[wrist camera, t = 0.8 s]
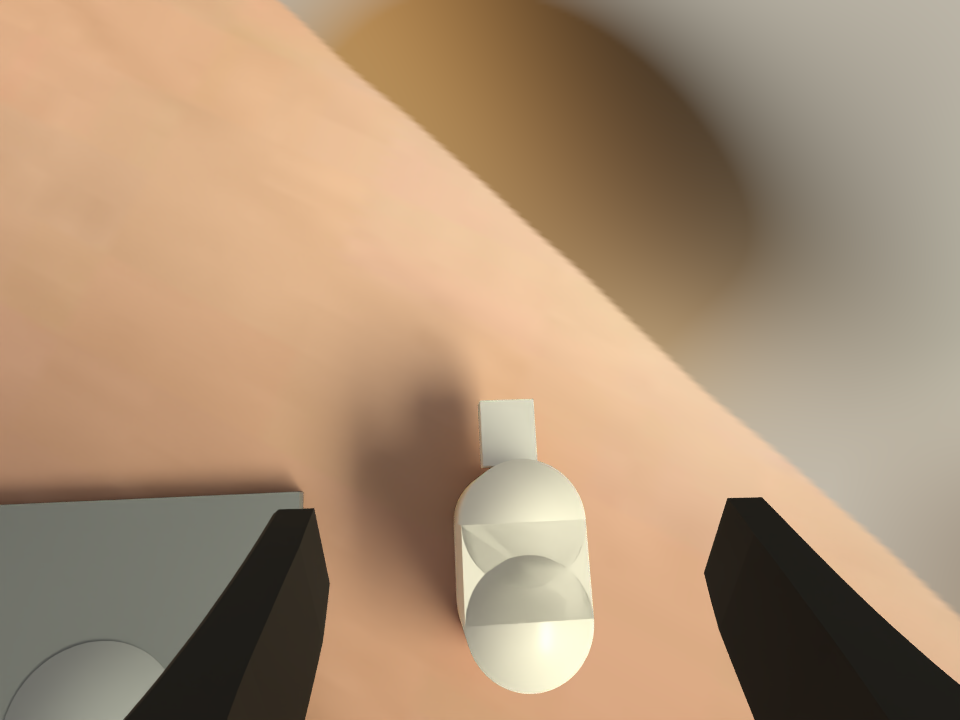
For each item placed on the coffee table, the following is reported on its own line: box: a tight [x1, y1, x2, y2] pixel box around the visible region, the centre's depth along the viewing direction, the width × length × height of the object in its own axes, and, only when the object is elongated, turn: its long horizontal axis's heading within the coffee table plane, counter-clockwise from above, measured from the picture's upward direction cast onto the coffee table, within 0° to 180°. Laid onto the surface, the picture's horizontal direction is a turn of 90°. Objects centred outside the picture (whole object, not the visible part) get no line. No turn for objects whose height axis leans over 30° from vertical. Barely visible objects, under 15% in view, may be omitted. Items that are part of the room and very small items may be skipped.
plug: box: [454, 399, 594, 694], centre depth 23 cm, size 9×4×6 cm, turn 3°
